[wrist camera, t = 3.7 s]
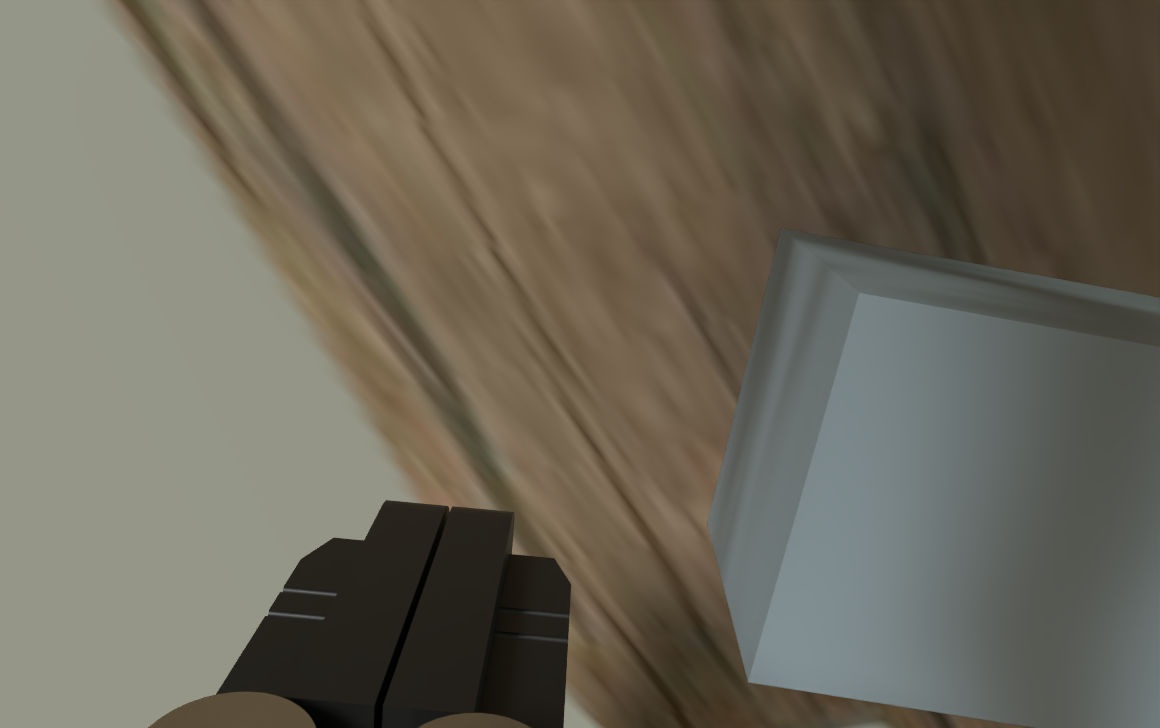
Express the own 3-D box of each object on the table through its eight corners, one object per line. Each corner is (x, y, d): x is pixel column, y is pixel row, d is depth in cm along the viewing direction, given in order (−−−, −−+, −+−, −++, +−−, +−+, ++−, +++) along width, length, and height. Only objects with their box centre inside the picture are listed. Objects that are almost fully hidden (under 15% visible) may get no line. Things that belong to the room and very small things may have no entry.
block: (706, 519, 18) (747, 682, 13) (779, 226, 16) (859, 292, 11) (1040, 575, 18) (1199, 754, 13) (1150, 294, 16) (1380, 387, 12)
